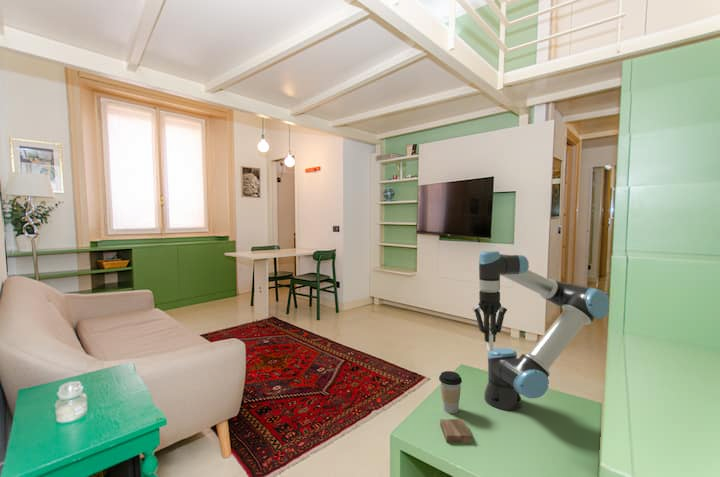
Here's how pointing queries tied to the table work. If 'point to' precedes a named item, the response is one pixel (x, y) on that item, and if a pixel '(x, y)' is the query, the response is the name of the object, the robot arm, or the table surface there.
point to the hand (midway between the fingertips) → (490, 349)
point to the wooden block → (455, 431)
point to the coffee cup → (450, 391)
